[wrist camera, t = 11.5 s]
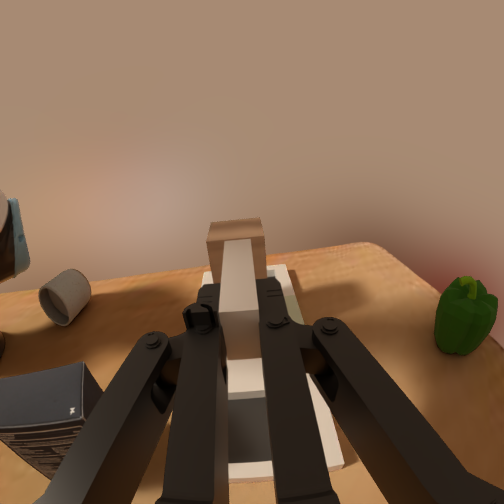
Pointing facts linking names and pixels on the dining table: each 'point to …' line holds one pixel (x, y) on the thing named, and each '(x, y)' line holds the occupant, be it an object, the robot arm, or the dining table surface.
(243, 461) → the trap board
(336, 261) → the dining table surface
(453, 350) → the bell pepper
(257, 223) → the walnut block
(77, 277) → the ceramic mug
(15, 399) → the small box
